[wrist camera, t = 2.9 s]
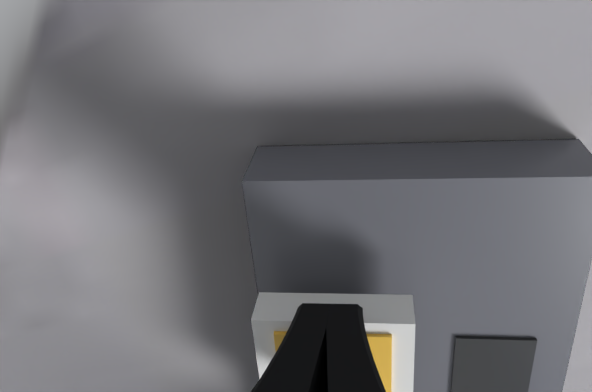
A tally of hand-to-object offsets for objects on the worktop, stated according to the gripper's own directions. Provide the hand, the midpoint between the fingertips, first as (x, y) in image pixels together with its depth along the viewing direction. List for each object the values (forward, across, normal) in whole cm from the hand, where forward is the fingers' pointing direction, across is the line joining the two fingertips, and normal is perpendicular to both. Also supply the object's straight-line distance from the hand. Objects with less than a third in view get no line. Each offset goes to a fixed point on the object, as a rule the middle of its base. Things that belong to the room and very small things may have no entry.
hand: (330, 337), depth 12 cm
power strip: (+4, -2, +8) cm, 9 cm away
